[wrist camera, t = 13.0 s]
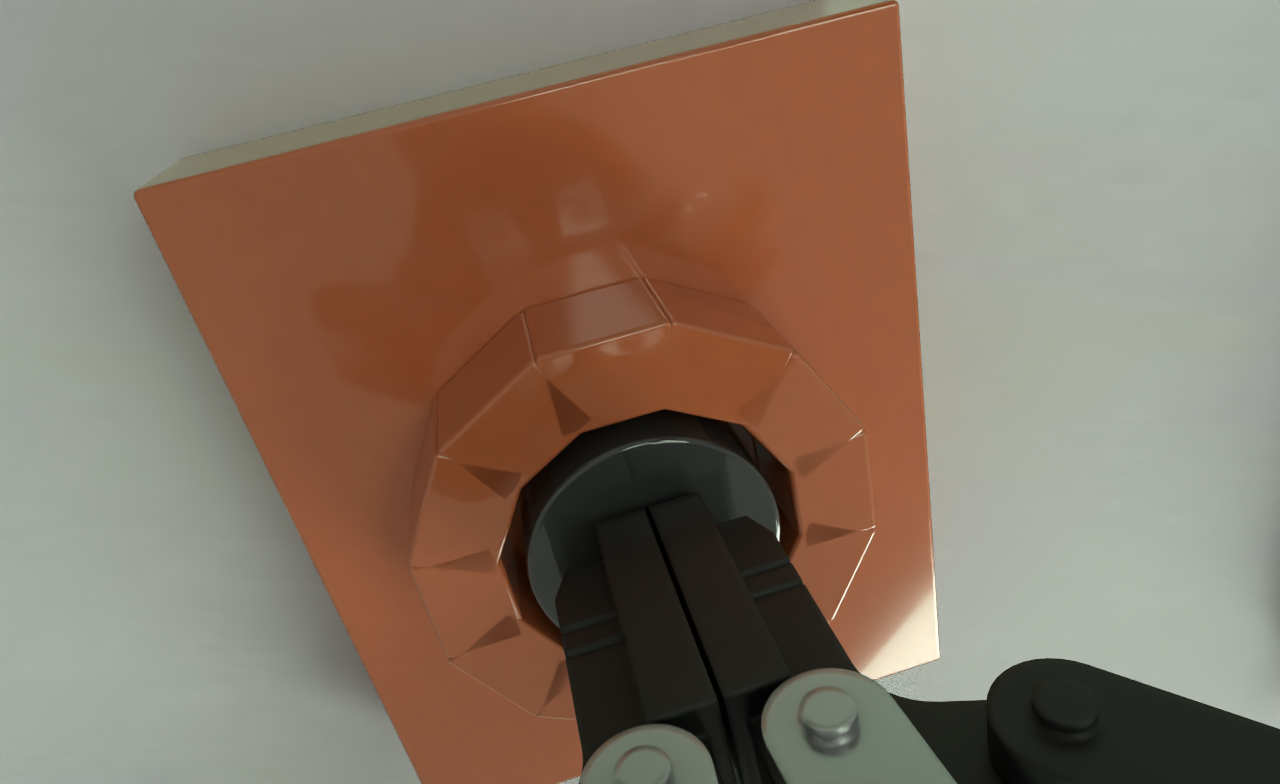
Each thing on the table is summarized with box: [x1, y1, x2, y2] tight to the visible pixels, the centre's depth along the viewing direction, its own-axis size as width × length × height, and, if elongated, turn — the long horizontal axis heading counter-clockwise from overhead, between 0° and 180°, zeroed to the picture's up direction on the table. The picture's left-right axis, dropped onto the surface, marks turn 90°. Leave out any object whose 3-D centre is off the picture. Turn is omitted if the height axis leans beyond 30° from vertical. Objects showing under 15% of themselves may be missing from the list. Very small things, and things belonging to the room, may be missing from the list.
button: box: [517, 409, 780, 628], centre depth 13 cm, size 4×4×2 cm
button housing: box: [134, 0, 940, 784], centre depth 14 cm, size 12×10×4 cm
